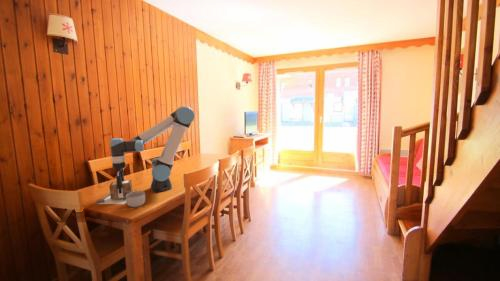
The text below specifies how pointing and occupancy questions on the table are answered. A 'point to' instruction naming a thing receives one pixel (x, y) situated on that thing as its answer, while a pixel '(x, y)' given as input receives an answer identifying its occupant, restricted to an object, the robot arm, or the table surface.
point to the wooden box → (125, 185)
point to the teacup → (135, 198)
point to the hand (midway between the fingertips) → (122, 195)
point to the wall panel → (111, 200)
